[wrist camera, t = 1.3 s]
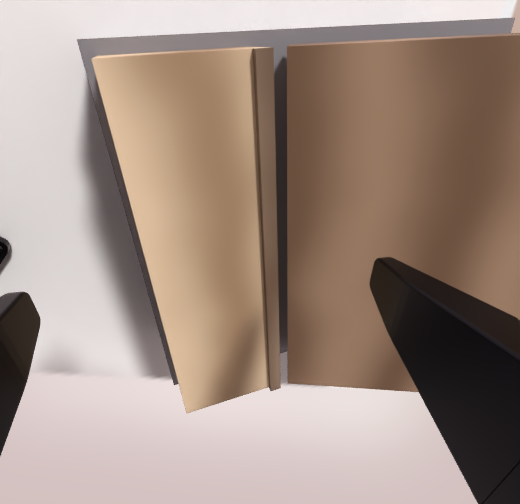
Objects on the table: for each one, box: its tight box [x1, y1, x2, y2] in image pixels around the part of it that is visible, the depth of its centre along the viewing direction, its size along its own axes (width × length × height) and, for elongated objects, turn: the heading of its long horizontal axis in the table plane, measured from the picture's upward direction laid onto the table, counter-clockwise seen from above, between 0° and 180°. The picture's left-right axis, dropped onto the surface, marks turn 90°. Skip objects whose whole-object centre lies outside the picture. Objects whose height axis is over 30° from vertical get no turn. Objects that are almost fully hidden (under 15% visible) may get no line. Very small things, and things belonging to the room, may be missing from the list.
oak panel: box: [92, 47, 280, 413], centre depth 16 cm, size 5×17×3 cm, turn 3°
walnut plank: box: [287, 33, 520, 392], centre depth 16 cm, size 12×17×2 cm
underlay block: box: [77, 18, 515, 385], centre depth 21 cm, size 19×18×5 cm
